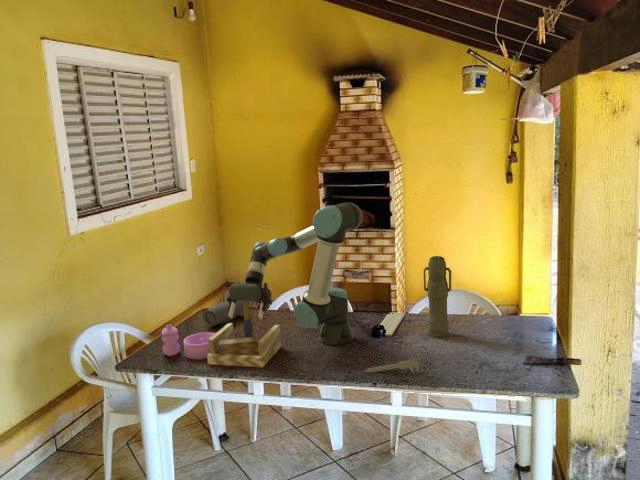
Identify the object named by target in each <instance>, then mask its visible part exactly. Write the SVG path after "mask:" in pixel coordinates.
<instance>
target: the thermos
mask: <svg viewBox="0 0 640 480" xmlns="http://www.w3.org/2000/svg"><path fill="white" fill-rule="evenodd" d="M427 265H428V266H426V267H425V268H424V269H423V291H426V293H427V298H428V322H427V327H428V328H427V329H428V336H429V337H432V338H437V339H439V338H440V339H441V338H447V337H448V336H449V329H450V326H449V319H448V297H449V292H451V290H452V270H451V268H450V267H447V263H446V260H445V257H443V256H441V255H434V256H431V257H429V261H428V264H427ZM427 271H428V274H427V275H428V281H426V272H427ZM447 271H448V281H447ZM426 283H427V284H426Z"/></svg>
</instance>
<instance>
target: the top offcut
mask: <svg viewBox="0 0 640 480" xmlns="http://www.w3.org/2000/svg"><path fill="white" fill-rule="evenodd" d="M259 340H260V338H259V336H253V337H248V338H245V337H242V338H241V337H240V338H238V337H237V338H234V339H229V340H220V342H219V348H220V352H222V351H231V350H240V349H250V348H258V341H259Z"/></svg>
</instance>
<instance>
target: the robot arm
mask: <svg viewBox="0 0 640 480" xmlns="http://www.w3.org/2000/svg"><path fill="white" fill-rule="evenodd" d="M362 221H363V212H362V210H361V208H360V207H359V206H358V205H357V204H355V203H353V202H342V203H338V204H333V205H332V204H331V205H326V206H324V207H321V208H319V209H318V210H317V211H316V212H315V214H314V215H313V218H312V225H310V226H309V227H307V228H304V229H303V230H301V231H298V232H295V234H292V235H289V236H287V237H282V238H281V237H276V238H273V239H271V240H269V241H268V242H265V241H258V242H257V241H256V242H255V244H254V246H253V248H252V252H251V256H250V259H249V265H248V268H247V273H246V276H245V280H244V283H247V284H256V285H259V286H260V288H261V289H263V290H264V294H265V297H266V299H267V300H266V299H265V297H264V295H263V294H262V293H261V296H260V300H261V301H262V302H261V303H260V307H259V312H258V315H257V317H258V319H259V320H263V316H264V312H266V311H267V307H268V305H272V304H273V301H272V299H271V295H270V291H269V285H268V283H267V282H264V283H263V281H264V276H265V274H266V273H265V272H266V268H267V264H268V262H269V261H271V260H274V259H275V258H278V257H282V256H285V255H288V254H292V253H296V252H300V251H302V250H304V249H306V248H307V247H309V246H311V245H314V244H316V243H317V246H316V250H315V255H314V260H313V264H312V269H311V274H310V279H309V283H308V289H307V290H305V291H304V292H303V294H302V299H301V301H299V302H298V303H296V305H295V306H294V316H295V318H296V320H297V322H298V323H299V324H300V325H301V327H303V328H305V329H313V328H317V327H318V326H320V325H321V328H320V331H319V335H318V339H319V342H320V343H322V344H324V345H329V346H340V345H345V344H348V343H350V342H352V341H353V340H354V332H353V330H352V327H351V325H350V322H349V321H350V320H349V302H348V292H347V291H346V290H345V289H344V288H339V287H331V283H332V280H333V279H332V278H333V274H334V270H335V265H336V263H337V257H338V252H339V249H340V245H341V244H343V243H344V242H345V239H346V235H347V233H348V232H351V231H355V230H356V229H358V228H359V227H360V225H361V224H362ZM238 283H241V282H237V284H238ZM226 301H228V303H230V304H229V310H230V311H229V315H228V316H229V317H230V318H232V317H233V313H234V310H235V306H236V305H235V303H236V302H237V301H238V300H233V299H231V298H230V295H229V294H228V297H227V298H226Z"/></svg>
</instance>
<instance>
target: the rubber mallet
mask: <svg viewBox="0 0 640 480" xmlns="http://www.w3.org/2000/svg"><path fill="white" fill-rule="evenodd" d="M261 294H262V288H260V286H259V285H256V284H247V283H245V282H244V283H243V282H242V283H241V282H240V283H238V282H237V283H232V284H231V285H230V287H229V291H228V296H229V295H230V298H231V299H233V300H239V301H243V308H244V312H243V318H244V319H243V332H244V338H248V337H254V336H253V335H254V334H253V332H254V329H253V328H254V326H253V321H252V319H251V311H250V310H251V309H250V302H257V301H259V300H261V298H260V296H261Z"/></svg>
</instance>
